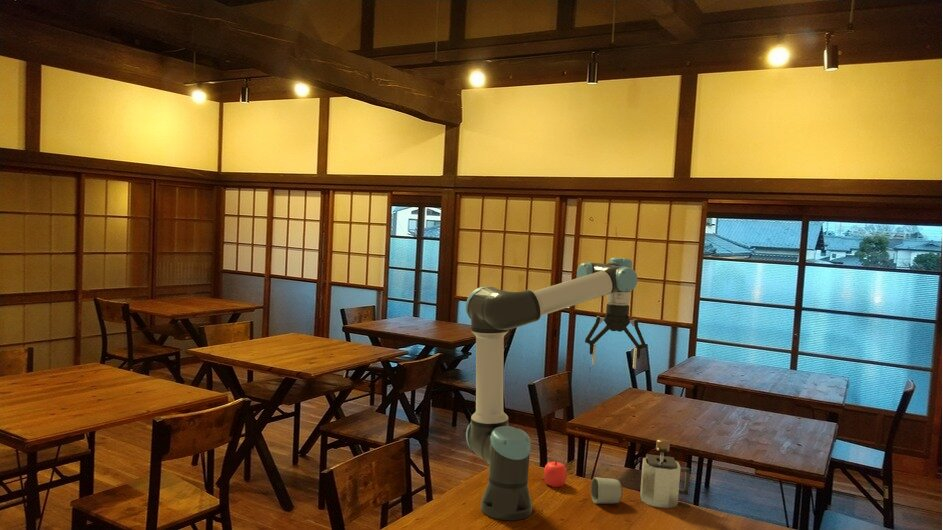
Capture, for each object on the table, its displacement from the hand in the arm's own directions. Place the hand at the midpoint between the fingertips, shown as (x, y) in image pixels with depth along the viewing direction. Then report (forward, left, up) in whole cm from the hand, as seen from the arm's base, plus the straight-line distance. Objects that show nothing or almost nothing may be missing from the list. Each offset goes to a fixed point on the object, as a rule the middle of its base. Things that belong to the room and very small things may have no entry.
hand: (613, 366), depth 224 cm
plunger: (+16, -15, -37) cm, 43 cm away
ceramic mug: (-1, -20, -39) cm, 44 cm away
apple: (-17, -12, -39) cm, 44 cm away
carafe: (+18, -15, -39) cm, 45 cm away
